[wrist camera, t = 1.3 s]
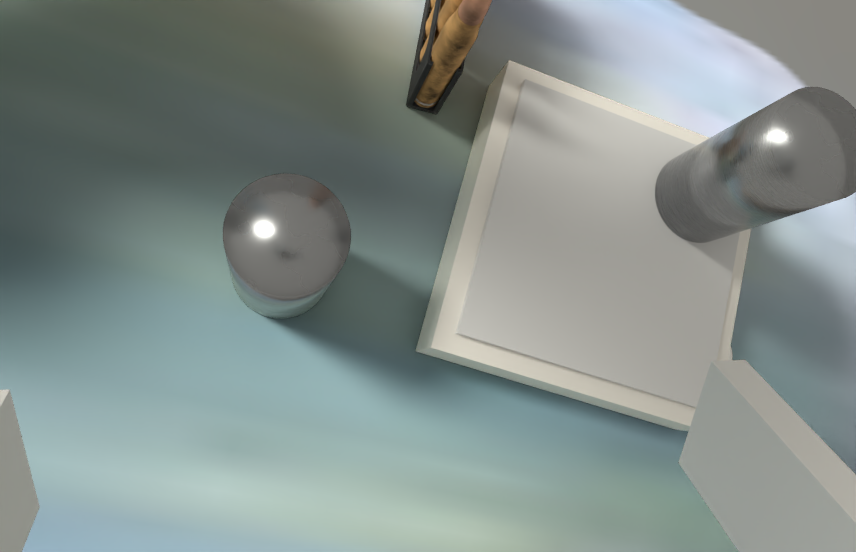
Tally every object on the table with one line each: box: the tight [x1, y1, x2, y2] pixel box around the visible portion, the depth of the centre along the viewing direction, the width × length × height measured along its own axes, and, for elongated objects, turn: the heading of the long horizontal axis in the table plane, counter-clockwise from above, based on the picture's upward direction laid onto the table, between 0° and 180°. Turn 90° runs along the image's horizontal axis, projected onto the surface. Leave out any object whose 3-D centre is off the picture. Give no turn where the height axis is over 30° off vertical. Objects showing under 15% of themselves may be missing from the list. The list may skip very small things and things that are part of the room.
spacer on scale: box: [655, 87, 856, 243], centre depth 34 cm, size 5×5×9 cm
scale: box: [416, 60, 751, 431], centre depth 39 cm, size 17×16×4 cm
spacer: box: [223, 174, 351, 319], centre depth 32 cm, size 5×5×9 cm
